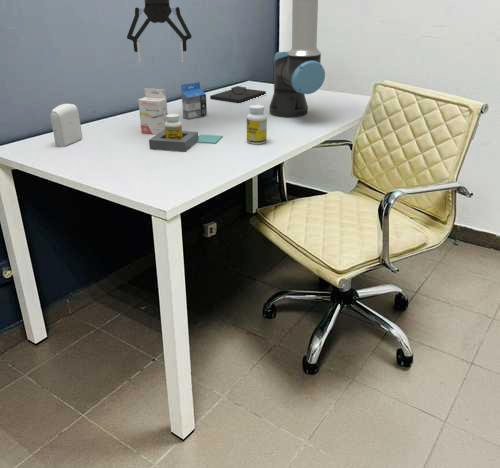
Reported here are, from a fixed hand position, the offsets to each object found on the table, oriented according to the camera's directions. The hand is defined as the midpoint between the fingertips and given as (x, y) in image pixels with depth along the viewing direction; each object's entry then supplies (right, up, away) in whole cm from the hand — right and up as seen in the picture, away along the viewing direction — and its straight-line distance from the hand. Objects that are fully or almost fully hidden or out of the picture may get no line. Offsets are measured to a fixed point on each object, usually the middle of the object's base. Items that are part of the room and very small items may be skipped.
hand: (161, 62), depth 165 cm
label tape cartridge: (+8, -11, +31) cm, 33 cm away
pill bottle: (+31, -26, +1) cm, 40 cm away
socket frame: (+5, -27, -2) cm, 28 cm away
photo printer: (-31, -26, +2) cm, 40 cm away
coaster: (+15, -25, +3) cm, 29 cm away
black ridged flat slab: (+24, +5, +62) cm, 67 cm away
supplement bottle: (+5, -27, -2) cm, 28 cm away
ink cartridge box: (-4, -21, +11) cm, 24 cm away
